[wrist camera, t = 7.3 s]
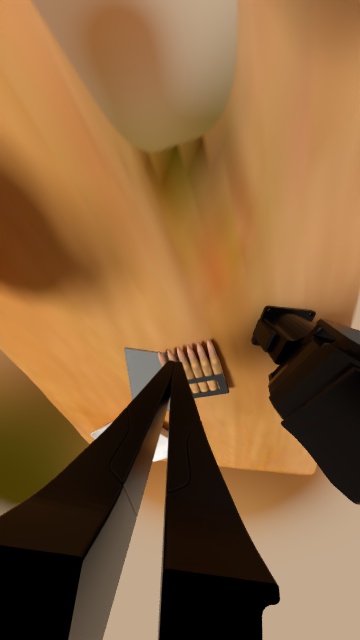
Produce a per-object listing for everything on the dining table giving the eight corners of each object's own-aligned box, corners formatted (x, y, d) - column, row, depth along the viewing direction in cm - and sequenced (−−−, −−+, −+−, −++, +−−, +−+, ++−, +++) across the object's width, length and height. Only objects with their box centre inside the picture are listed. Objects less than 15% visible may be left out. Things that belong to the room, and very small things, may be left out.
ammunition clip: (227, 384, 27) (213, 335, 22) (229, 393, 25) (215, 341, 20) (177, 392, 29) (155, 349, 24) (176, 400, 27) (152, 356, 23)
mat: (193, 356, 25) (192, 358, 24) (184, 412, 33) (184, 413, 33) (125, 347, 25) (124, 348, 25) (133, 403, 34) (133, 404, 34)
